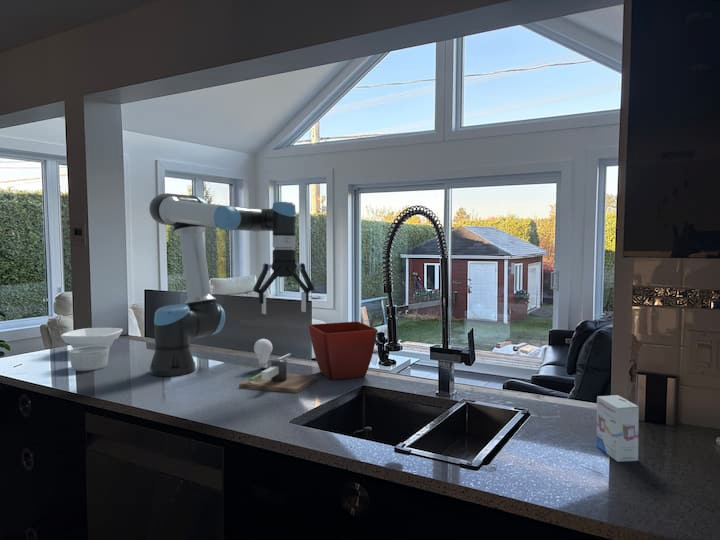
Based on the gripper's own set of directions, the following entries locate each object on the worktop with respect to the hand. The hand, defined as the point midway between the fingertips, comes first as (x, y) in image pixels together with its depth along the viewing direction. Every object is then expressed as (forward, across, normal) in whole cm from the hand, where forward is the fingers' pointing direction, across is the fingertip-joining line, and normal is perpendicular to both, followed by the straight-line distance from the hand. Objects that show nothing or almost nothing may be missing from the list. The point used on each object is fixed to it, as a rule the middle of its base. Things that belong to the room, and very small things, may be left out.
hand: (284, 312), depth 170 cm
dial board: (+23, -3, -4) cm, 23 cm away
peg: (+21, -3, -4) cm, 22 cm away
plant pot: (+23, +20, -2) cm, 31 cm away
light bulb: (+23, -3, +17) cm, 29 cm away
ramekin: (+24, -61, +45) cm, 79 cm away
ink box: (+22, +50, -88) cm, 104 cm away
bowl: (+24, -61, +75) cm, 100 cm away
